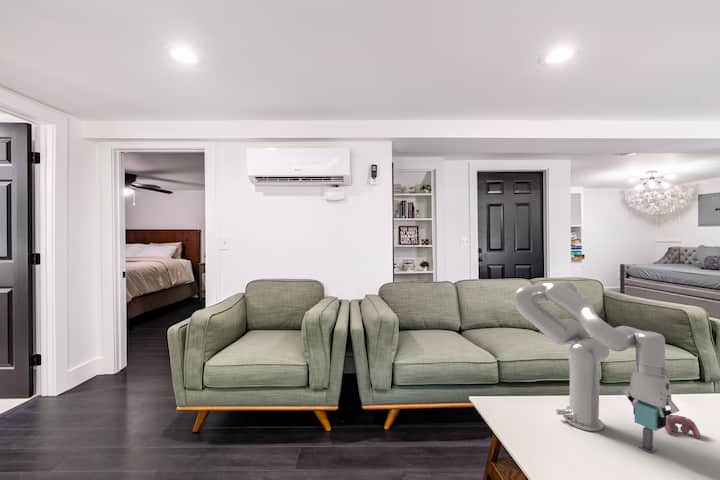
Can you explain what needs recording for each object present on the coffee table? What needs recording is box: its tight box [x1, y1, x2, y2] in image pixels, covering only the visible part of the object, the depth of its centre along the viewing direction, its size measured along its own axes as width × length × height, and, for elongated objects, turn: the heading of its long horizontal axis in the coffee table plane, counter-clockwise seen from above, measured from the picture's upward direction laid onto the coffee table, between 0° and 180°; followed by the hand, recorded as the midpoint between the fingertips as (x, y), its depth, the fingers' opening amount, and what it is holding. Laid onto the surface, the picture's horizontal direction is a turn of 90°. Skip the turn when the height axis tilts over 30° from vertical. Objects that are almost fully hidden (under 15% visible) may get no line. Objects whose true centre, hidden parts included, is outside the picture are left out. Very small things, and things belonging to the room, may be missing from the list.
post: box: [637, 426, 658, 455], centre depth 115 cm, size 4×4×7 cm
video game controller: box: [664, 414, 702, 440], centre depth 124 cm, size 10×5×7 cm, turn 72°
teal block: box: [634, 401, 660, 432], centre depth 114 cm, size 6×6×7 cm
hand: (649, 421), depth 114 cm, fingers closed on teal block, 5 cm apart
